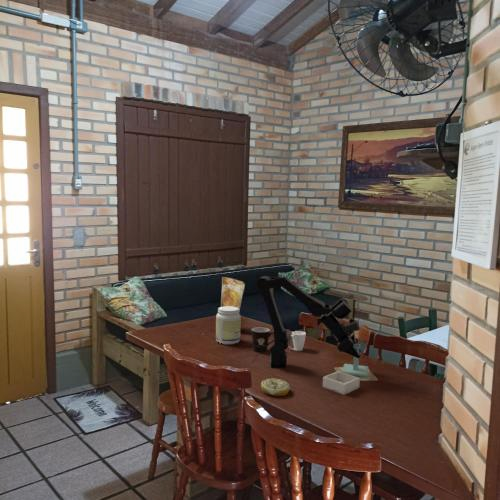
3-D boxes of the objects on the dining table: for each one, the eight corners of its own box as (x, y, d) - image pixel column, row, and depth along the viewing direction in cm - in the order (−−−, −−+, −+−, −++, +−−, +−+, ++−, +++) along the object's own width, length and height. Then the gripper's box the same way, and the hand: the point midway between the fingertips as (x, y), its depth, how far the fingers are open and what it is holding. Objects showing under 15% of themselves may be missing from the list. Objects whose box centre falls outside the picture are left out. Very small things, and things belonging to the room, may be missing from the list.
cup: (308, 350, 230) (309, 334, 229) (289, 352, 226) (290, 336, 225) (301, 346, 236) (301, 330, 236) (283, 348, 232) (283, 332, 232)
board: (343, 380, 192) (343, 379, 192) (334, 368, 206) (334, 367, 206) (377, 380, 194) (377, 379, 194) (366, 368, 208) (366, 367, 207)
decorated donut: (272, 400, 173) (272, 389, 172) (255, 389, 182) (255, 380, 181) (294, 393, 179) (295, 384, 178) (277, 384, 188) (277, 374, 187)
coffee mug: (248, 351, 226) (248, 330, 225) (254, 346, 234) (255, 326, 233) (271, 355, 222) (272, 334, 221) (277, 350, 230) (278, 329, 229)
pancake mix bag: (225, 324, 273) (226, 275, 270) (244, 332, 257) (246, 281, 254) (215, 326, 269) (216, 276, 266) (234, 334, 254) (235, 282, 251)
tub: (322, 387, 185) (322, 377, 185) (337, 380, 193) (338, 371, 192) (344, 395, 178) (345, 384, 178) (359, 388, 186) (359, 378, 185)
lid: (342, 375, 196) (343, 347, 195) (344, 367, 206) (345, 340, 205) (367, 378, 194) (369, 350, 193) (368, 370, 203) (369, 343, 202)
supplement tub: (244, 340, 243) (245, 308, 241) (230, 346, 233) (231, 312, 231) (224, 336, 250) (225, 304, 248) (210, 342, 239) (211, 308, 238)
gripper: (347, 319, 189) (374, 349, 188) (350, 309, 207) (375, 336, 206) (326, 336, 192) (353, 366, 191) (330, 325, 210) (355, 352, 208)
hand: (359, 354), depth 199 cm, fingers open, 7 cm apart
